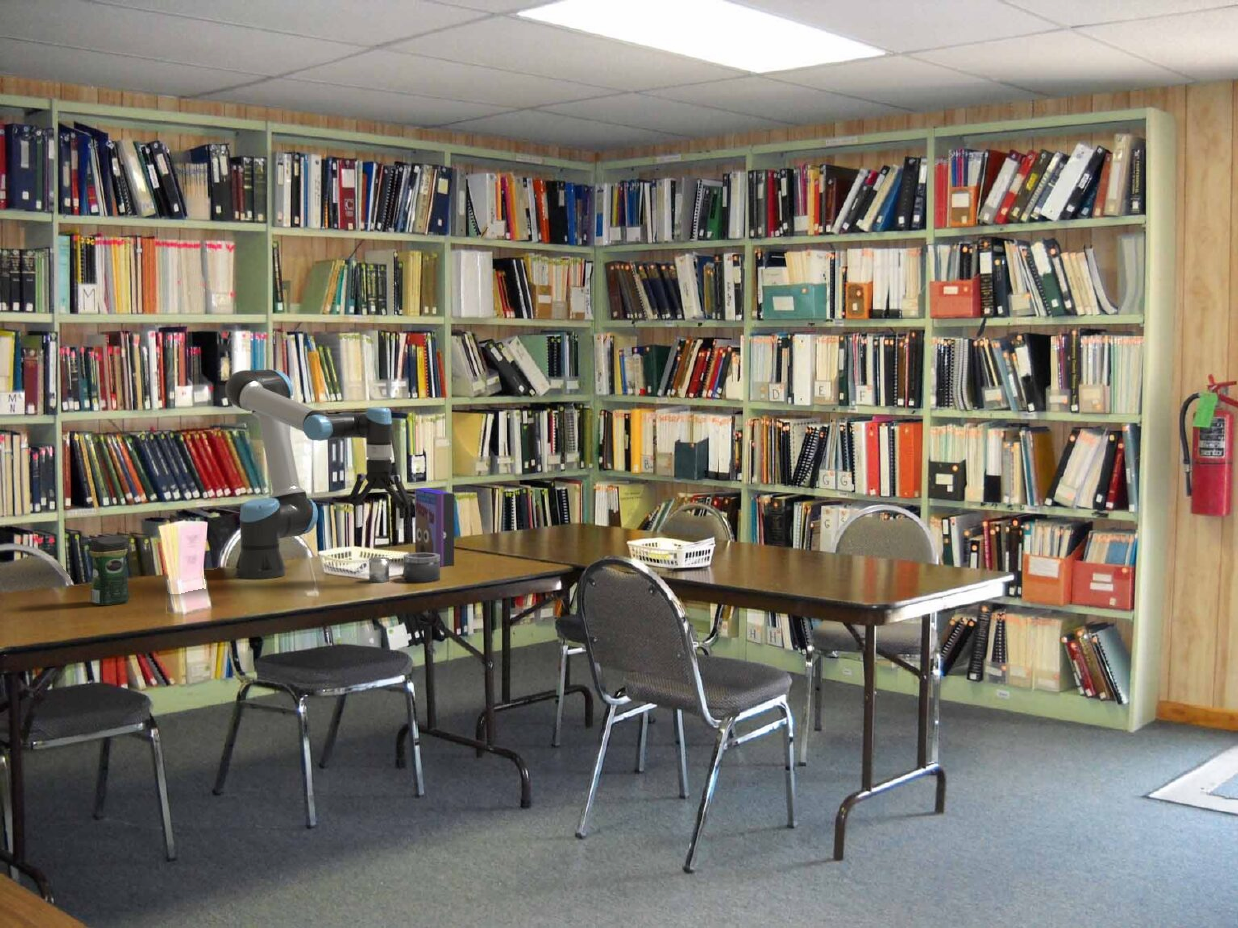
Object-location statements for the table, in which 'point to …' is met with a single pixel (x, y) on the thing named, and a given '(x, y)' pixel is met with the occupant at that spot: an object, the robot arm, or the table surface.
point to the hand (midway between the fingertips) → (379, 528)
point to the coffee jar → (109, 570)
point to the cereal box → (435, 524)
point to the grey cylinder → (379, 569)
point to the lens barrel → (422, 567)
